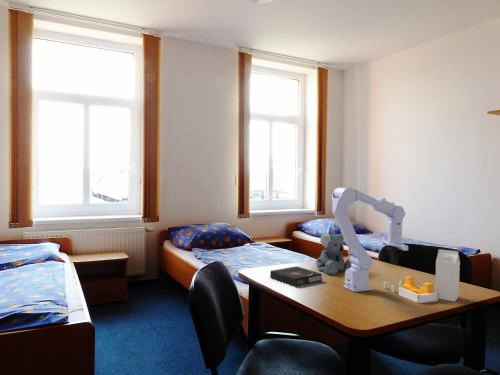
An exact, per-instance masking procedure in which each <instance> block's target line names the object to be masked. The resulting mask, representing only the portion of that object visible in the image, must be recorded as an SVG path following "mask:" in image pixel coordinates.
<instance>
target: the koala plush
mask: <svg viewBox="0 0 500 375" xmlns="http://www.w3.org/2000/svg"><path fill="white" fill-rule="evenodd" d="M319 240H320V241H319V243H321V245H322V246H323V247H324V250H322V252H321V254H320V256H319V257H318V258H316V261H315V265H316V268H317V270H319V271H321V272H323V273H325V274H326V275H329V276H336V275H337V274H338V273H339V272H342V273H345V271H346V270H347V269H349V268H351V262H350V261H349V258H348V259H347V260H346V261H345V259H344V257H343V255H342V254H343V252H344V249H345V248H344V241H345V239H344V237H343V235H342V233H339V234H338V233H326V232H325V233H323V234H321V235H320V236H319Z"/></svg>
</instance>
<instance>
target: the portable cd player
mask: <svg viewBox="0 0 500 375" xmlns="http://www.w3.org/2000/svg"><path fill="white" fill-rule="evenodd" d="M269 274H270V277H269V278H270V279H271V278H272V279H271V280H274V279H275V280H274V281H276V280H277V282H279V281H280V283H282V282H283V283H282V284H285V283H286V285H287V284H289V285H288V286H290V285H291V287H293V286H294V288H297V286H298V287H302V286H301V285H303V286H307V285H311V283H312V284H316V283H315V282H317V283H321V282H323V274H322V273H321V272H317V271H314V270H311V269H307V268H304V267H300V266H291V267H286V268H279V269H273V270H270V273H269ZM306 284H307V285H306Z"/></svg>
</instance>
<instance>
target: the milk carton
mask: <svg viewBox="0 0 500 375" xmlns="http://www.w3.org/2000/svg"><path fill="white" fill-rule="evenodd" d="M437 250H438V251H437V257H436V259H435V281H434V282H435V283H434V285H435V287H434V288H435V290H434V292H437V293H439V298H438V300H439V299H440V300H443V301H444V300H445V301H450V302H456V301H457V299H458V298H459V296H460V266H461V261H460V256H459V255H460V254H459V251H457V250H448V249H441V248H439V249H437Z"/></svg>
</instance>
